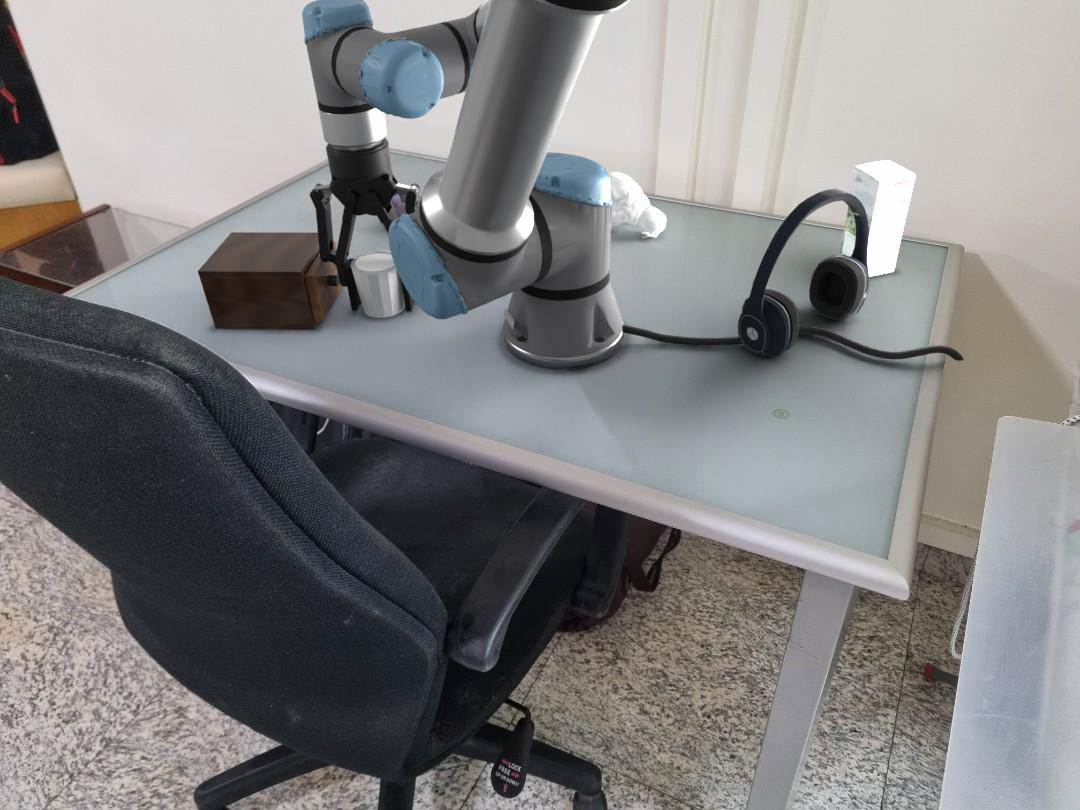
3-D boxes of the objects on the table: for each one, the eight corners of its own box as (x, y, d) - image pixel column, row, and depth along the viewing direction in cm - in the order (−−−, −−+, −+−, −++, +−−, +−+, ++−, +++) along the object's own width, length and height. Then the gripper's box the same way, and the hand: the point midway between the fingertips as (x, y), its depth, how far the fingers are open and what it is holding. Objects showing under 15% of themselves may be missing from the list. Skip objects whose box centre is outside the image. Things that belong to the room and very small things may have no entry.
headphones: (827, 296, 113) (852, 165, 103) (871, 316, 109) (902, 180, 98) (725, 348, 104) (741, 209, 93) (769, 372, 99) (791, 229, 89)
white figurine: (616, 162, 132) (680, 186, 126) (611, 212, 137) (672, 237, 132) (591, 175, 128) (656, 200, 122) (587, 225, 134) (649, 252, 128)
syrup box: (895, 272, 118) (919, 172, 110) (859, 279, 117) (880, 179, 108) (870, 255, 123) (891, 158, 114) (835, 262, 121) (854, 164, 113)
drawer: (352, 284, 119) (343, 240, 115) (331, 322, 111) (321, 276, 107) (258, 283, 120) (247, 240, 116) (231, 321, 112) (218, 275, 108)
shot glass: (399, 322, 112) (392, 275, 108) (351, 318, 113) (342, 271, 109) (415, 296, 117) (409, 251, 113) (369, 293, 118) (361, 248, 114)
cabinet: (337, 287, 120) (326, 232, 115) (313, 330, 111) (300, 271, 106) (246, 287, 122) (231, 232, 117) (215, 328, 112) (197, 271, 107)
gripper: (442, 129, 103) (459, 293, 117) (287, 130, 105) (321, 291, 119) (431, 151, 97) (450, 321, 111) (266, 151, 99) (305, 319, 113)
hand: (383, 305), depth 115 cm, fingers closed on shot glass, 7 cm apart
